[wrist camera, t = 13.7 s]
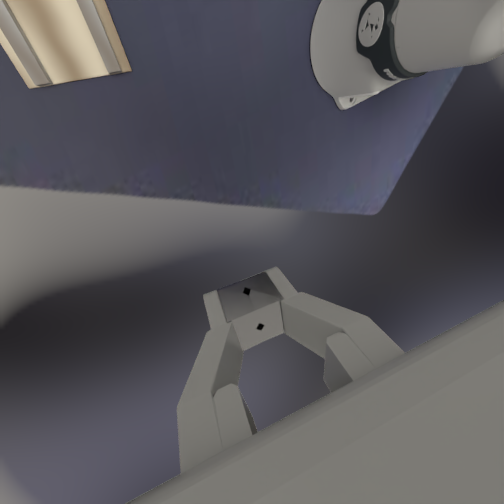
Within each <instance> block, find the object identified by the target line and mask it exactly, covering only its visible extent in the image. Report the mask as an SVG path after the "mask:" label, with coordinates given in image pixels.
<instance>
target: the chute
mask: <svg viewBox="0 0 504 504" xmlns="http://www.w3.org/2000/svg"><path fill="white" fill-rule="evenodd" d="M0 43H1V45H2V46H3V48H4V50H5V51H6V53H7V54H8V56H9V58H10V59H11V61H12V62H13V64H14V65H15V67H16V69H17V70H18V72H19V73H20V75H21V77H22V78H23V80H24V81H25V83H26V84H27V86H28V88H30V89H32V88H38V87H44V86H49V85H55V84H61V83H67V82H72V81H78V80H84V79H90V78H95V77H101V76H107V75H113V74H118V73H124V72H130V71H132V70H131V67H130V64H129V62H128V59H127V57H126V54H125V52H124V49H123V46H122V44H121V41H120V39H119V36H118V33H117V31H116V28H115V26H114V23H113V21H112V18H111V15H110V13H109V10H108V8H107V5H106V2H105V0H0Z"/></svg>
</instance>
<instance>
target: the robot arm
mask: <svg viewBox="0 0 504 504" xmlns="http://www.w3.org/2000/svg"><path fill="white" fill-rule="evenodd" d="M310 53H311V62H312V67H313V71H314V74H315V77H316V79H317V81H318V83H319V84H320V86H321V87H322V88H323V89H324V90H325V91H326V92H328V93H329V94H330V95H331V96H332V97H333V98H334V100H335V102H336V104H337V106H338V108H339V109H340V110H345V109H348V108H350V107H352V106H354V105H356V104H358V103H360V102H362V101H363V100H365V99H367V98H369V97H371V96H373V95H375V94H378V93H379V92H381V91H383V90H385V89H387V88H389V87H390V86H392V85H394V84H396V83H398V82H400V81H402V80H408V79H412V78H414V77H418V76H421V75H424V74H425V73H427V72H429V71H434V70H441V69H447V68H454V67H461V66H467V65H474V64H480V63H485V62H487V61H490V60H492V59H494V58H496V57H498V56H500V55H502V54H504V0H322V1H321V3H320V5H319V8H318V10H317V13H316V16H315V19H314V23H313V27H312V33H311V43H310ZM350 98H351V100H350ZM203 297H204V302H205V306H206V310H207V315H208V318H209V323H210V326H211V330H210V331H208V332H207V333H206V336H205V338H204V341H203V344H202V346H201V349H200V351H199V353H198V356H197V359H196V361H195V364H194V366H193V369H192V371H191V373H190V376H189V378H188V381H187V383H186V386H185V388H184V391H183V393H182V396H181V398H180V401H179V403H178V406H177V419H178V435H179V452H180V468H181V474H179V475H178V476H176V477H174V478H172V479H170V480H168V481H166V482H165V483H163V484H161V485H159V486H157V487H155V488H154V489H152V490H150V491H148V492H146V493H144V494H142V495H140V496H138V497H137V498H135V499H133V500H131V501H129V502H127V503H126V504H504V300H503V301H501V302H499V303H497V304H495V305H494V306H492V307H490V308H488V309H486V310H484V311H482V312H481V313H479V314H477V315H475V316H473V317H471V318H469V319H468V320H466V321H464V322H462V323H460V324H458V325H456V326H455V327H453V328H451V329H449V330H447V331H445V332H443V333H442V334H440V335H438V336H436V337H434V338H432V339H430V340H429V341H427V342H425V343H423V344H421V345H419V346H417V347H416V348H414V349H412V350H410V351H408V352H406V353H405V352H404V351H403V350H402V349H401V348H399V347H398V346H397V345H396V344H395V343H394V342H393V341H392V340H391V339H390V338H389V337H388V336H387V335H386V334H385V333H384V332H383V331H382V330H381V329H380V328H379V327H378V326H377V325H376V324H375V323H374V322H373V321H372V320H371V319H370V318H369V317H367V316H365V315H362V314H359V313H356V312H354V311H351V310H349V309H346V308H343V307H341V306H338V305H335V304H333V303H330V302H327V301H325V300H322V299H319V298H317V297H314V296H311V295H309V294H306V293H303V292H300V293H298V292H297V291H296V290H295V289H294V287H293V286H292V285H291V284H290V282H289V281H288V280H287V278H286V277H285V276H284V275H283V273H282V272H281V271H280V270H279V268H278V267H274V268H271V269H269V270H266V271H264V272H261V273H259V274H256V275H254V276H252V277H249V278H247V279H244V280H241V281H239V282H236V283H233V284H231V285H228V286H225V287H222V288H220V289H217V290H215V291H213V292H209V293H206V294H204V295H203ZM282 333H285V334H286V335H288V336H290V337H291V338H293V339H294V340H296V341H298V342H299V343H301V344H302V345H304V346H305V347H307V348H309V349H310V350H312V351H313V352H315V353H316V354H318V355H319V356H321V357H323V358H324V359H325V367H324V381H325V383H326V385H327V386H328V388H329V390H330V391H331V393H330V394H328V395H326V396H325V397H323V398H321V399H319V400H317V401H315V402H313V403H312V404H310V405H308V406H306V407H304V408H302V409H300V410H299V411H297V412H295V413H293V414H291V415H289V416H287V417H286V418H283V419H282V420H280V421H278V422H276V423H274V424H272V425H270V426H269V427H267V428H265V429H263V430H261V431H259V432H257V429H256V426H255V423H254V419H253V417H252V415H251V413H250V411H249V408H248V406H247V404H246V402H245V400H244V398H243V396H242V394H241V392H240V390H239V388H238V381H239V376H240V370H241V364H242V359H243V351H245V350H247V349H249V348H251V347H253V346H255V345H257V344H259V343H261V342H263V341H266V340H268V339H270V338H273V337H275V336H277V335H280V334H282Z"/></svg>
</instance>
